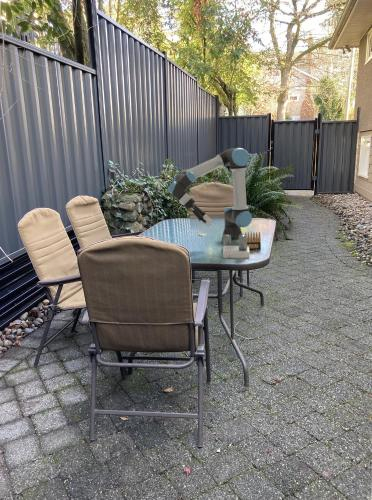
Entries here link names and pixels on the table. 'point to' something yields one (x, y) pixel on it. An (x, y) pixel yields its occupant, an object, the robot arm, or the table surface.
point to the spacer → (227, 240)
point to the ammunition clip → (254, 241)
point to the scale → (235, 252)
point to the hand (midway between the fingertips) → (210, 224)
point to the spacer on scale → (242, 242)
